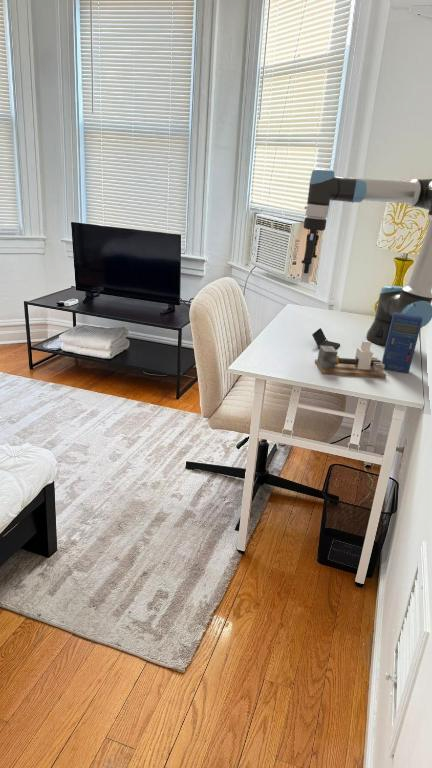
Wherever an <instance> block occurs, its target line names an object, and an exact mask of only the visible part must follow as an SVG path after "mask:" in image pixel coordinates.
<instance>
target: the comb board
mask: <svg viewBox="0 0 432 768" xmlns="http://www.w3.org/2000/svg"><path fill="white" fill-rule="evenodd" d="M358 361H359V359H355V358H347V357H339V355H338V351H337V349H336V350H335V349H334V347H333V346H320V348H319V349H318V355H317V358H316V359H314V364H315V365H316V366H317V368H318V370H319V371H320V373H322V375H331V376H332V375H333V376H348V377H362V378H375V379H376V378H377V379H386V378H387V374H386V373H385V369H384V366H385V365H384V364H383V363H382V360H380V359H379V358H378V357H374V356H372V360H371V364H370V369H369V370H365V369H358V368H357V366H358Z"/></svg>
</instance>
